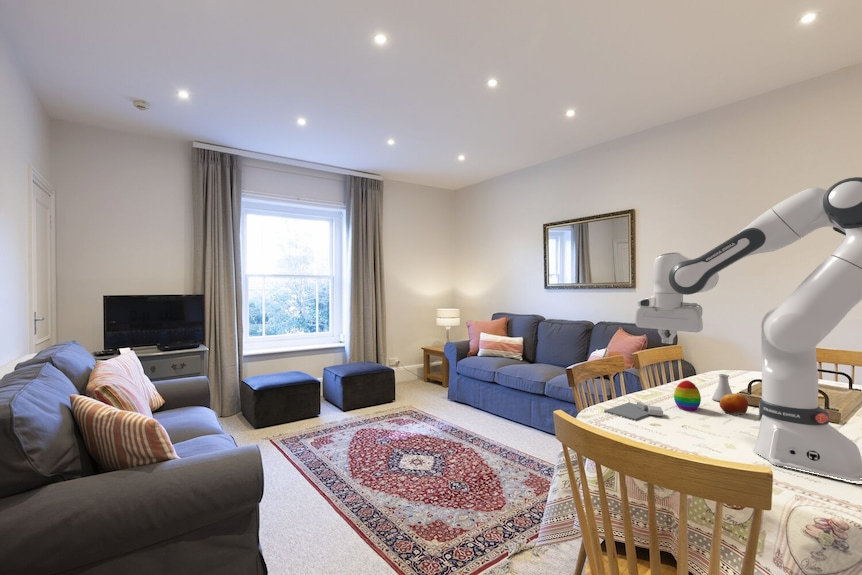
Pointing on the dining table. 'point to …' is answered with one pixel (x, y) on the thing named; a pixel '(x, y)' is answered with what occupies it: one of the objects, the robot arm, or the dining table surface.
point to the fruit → (734, 404)
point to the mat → (628, 411)
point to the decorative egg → (687, 396)
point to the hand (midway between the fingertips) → (667, 343)
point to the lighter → (651, 409)
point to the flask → (722, 387)
